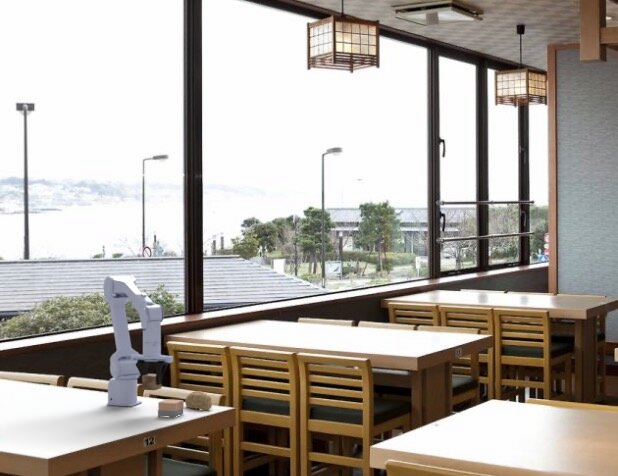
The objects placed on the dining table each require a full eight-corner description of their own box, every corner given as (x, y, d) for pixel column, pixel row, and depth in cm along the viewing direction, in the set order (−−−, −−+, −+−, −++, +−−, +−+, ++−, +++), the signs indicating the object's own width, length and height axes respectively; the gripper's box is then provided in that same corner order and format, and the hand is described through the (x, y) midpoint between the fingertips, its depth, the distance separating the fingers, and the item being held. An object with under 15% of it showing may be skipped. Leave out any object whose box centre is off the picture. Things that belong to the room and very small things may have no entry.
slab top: (158, 410, 304) (158, 402, 304) (166, 406, 310) (166, 399, 310) (175, 411, 302) (175, 403, 302) (183, 407, 308) (183, 400, 308)
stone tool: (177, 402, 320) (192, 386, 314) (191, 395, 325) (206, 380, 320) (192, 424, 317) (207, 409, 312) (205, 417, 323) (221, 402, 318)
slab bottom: (157, 418, 304) (157, 410, 304) (166, 414, 310) (166, 406, 310) (174, 419, 302) (174, 411, 302) (183, 415, 308) (183, 408, 308)
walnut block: (142, 389, 308) (142, 375, 308) (149, 387, 312) (149, 373, 312) (154, 390, 307) (154, 376, 307) (161, 388, 311) (161, 374, 311)
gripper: (125, 342, 308) (126, 384, 308) (165, 344, 303) (166, 386, 303) (136, 340, 315) (137, 381, 315) (176, 341, 310) (176, 383, 310)
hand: (152, 383), depth 310 cm, fingers closed on walnut block, 4 cm apart
